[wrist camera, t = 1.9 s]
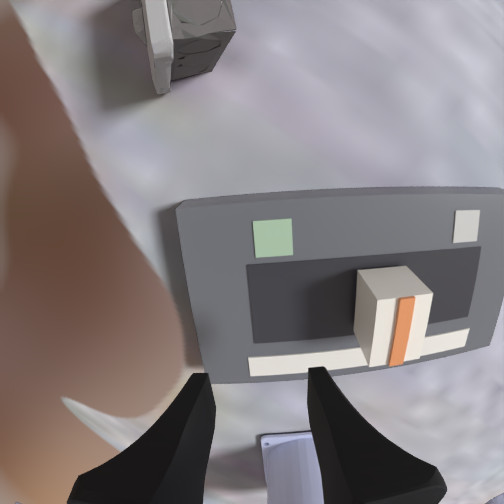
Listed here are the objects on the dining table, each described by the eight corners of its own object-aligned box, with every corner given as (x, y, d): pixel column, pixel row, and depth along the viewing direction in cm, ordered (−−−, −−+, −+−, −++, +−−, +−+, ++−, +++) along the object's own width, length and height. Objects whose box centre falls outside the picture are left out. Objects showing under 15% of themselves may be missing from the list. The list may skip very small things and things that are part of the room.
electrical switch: (141, -13, 14) (102, -79, 6) (212, -30, 14) (207, -106, 7) (158, 97, 17) (112, 70, 9) (235, 81, 17) (241, 38, 9)
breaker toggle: (398, 325, 18) (421, 360, 15) (353, 331, 19) (369, 369, 15) (406, 265, 17) (435, 295, 14) (357, 270, 17) (378, 302, 14)
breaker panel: (475, 329, 22) (489, 346, 20) (211, 361, 23) (207, 384, 21) (498, 187, 18) (520, 195, 16) (185, 199, 19) (174, 209, 17)
